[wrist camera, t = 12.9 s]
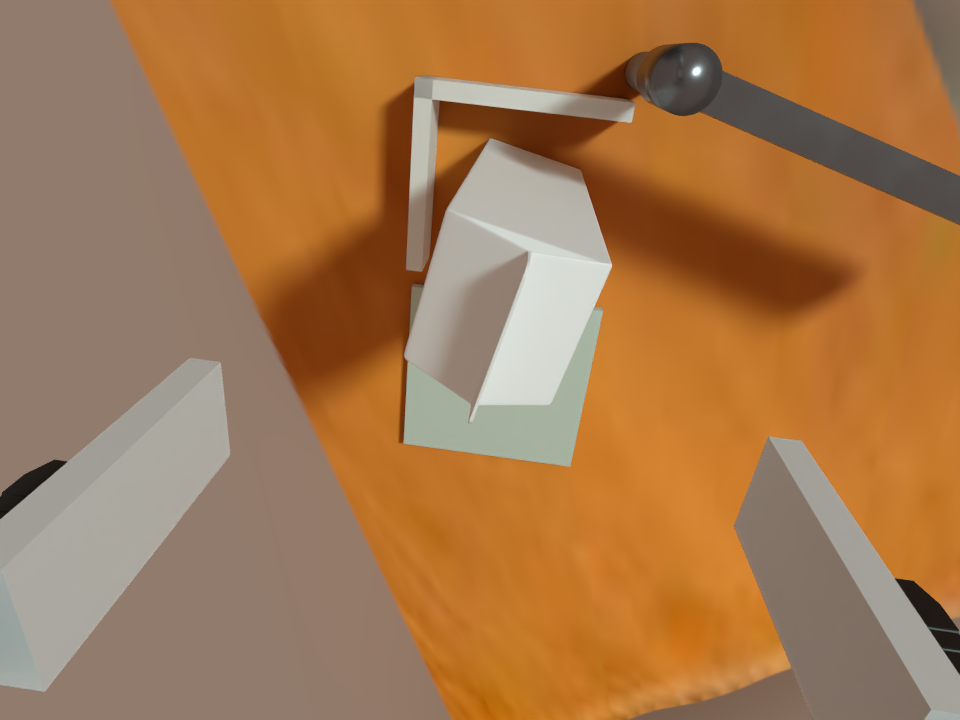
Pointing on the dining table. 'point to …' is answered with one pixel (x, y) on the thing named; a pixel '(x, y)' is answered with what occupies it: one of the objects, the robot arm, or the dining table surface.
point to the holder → (486, 94)
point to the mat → (501, 411)
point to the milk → (510, 280)
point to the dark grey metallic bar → (791, 127)
